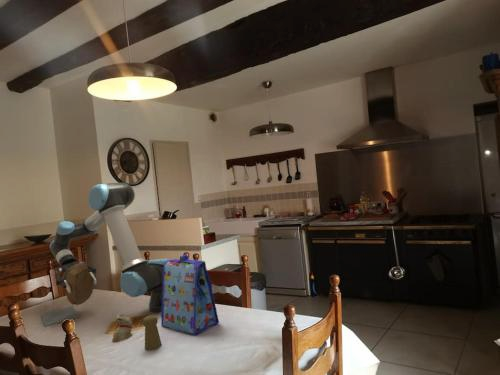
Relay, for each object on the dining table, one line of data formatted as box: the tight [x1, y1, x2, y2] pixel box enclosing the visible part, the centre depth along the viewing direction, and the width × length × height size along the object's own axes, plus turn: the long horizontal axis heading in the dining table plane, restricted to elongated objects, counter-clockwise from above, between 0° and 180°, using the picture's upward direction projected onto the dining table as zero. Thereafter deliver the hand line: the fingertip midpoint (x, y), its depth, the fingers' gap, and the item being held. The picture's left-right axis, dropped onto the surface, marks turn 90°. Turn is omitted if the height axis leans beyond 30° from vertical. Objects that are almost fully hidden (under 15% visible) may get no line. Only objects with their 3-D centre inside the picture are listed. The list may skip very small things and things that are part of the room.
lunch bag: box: [160, 254, 220, 336], centre depth 149 cm, size 22×14×29 cm, turn 49°
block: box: [65, 262, 94, 306], centre depth 175 cm, size 11×8×20 cm
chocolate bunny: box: [111, 312, 133, 343], centre depth 144 cm, size 6×8×10 cm
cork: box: [142, 314, 163, 351], centre depth 132 cm, size 6×6×11 cm
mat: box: [40, 305, 81, 328], centre depth 181 cm, size 24×15×1 cm, turn 34°
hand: (83, 286), depth 172 cm, fingers closed on block, 11 cm apart
